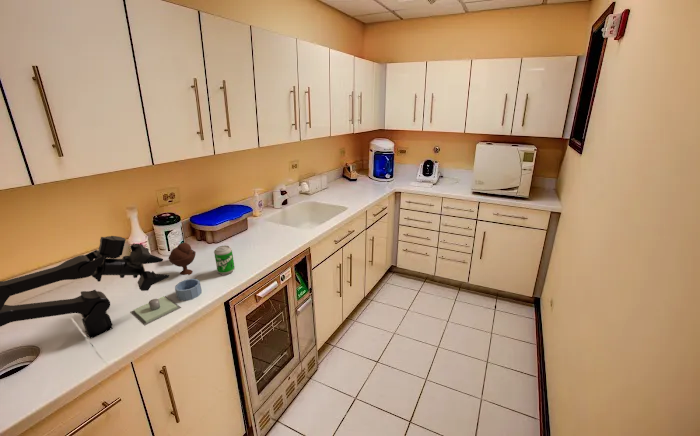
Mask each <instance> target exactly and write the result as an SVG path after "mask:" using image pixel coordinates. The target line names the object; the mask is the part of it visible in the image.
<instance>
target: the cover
mask: <svg viewBox="0 0 700 436" xmlns="http://www.w3.org/2000/svg"><path fill="white" fill-rule="evenodd" d="M176 308H178V307H177V306H176V305H175V304H174V303H172V302H171V301H170V300H168V299H167V298H166V297H165V296H164V295H163V296H162V297H159V298H153V299H151V300H150V299H149V301H148V303H146V304H143V305H142V306H139V307H136V308H134V309H133V310H134V312H135V313H136V314H137V315H138V316H139V317H140V318H141V319H143V320H144V321H145V322H146V323H148V322H150V321H152V320H154V319H156V318H158V317H160V316H162V315H164V314H166V313H168V312H170V311H172V310H174V309H176Z"/></svg>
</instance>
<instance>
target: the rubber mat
mask: <svg viewBox="0 0 700 436" xmlns="http://www.w3.org/2000/svg"><path fill="white" fill-rule="evenodd" d="M164 297H166V298H167V299H168V300H170V301H171V302H172V303H174V304H175V305H176V306H177V307H178V308H176V309H174V310H172V311H170V312H168V313H166V314H164V315H162V316H160V317H158V318H156V319H154V320H152V321H150V322H148V323H146V322H145V321H144V320H143V319H141V318H140V317H139V316H138V315H137V314H136V313H135V312H134V309H132V311H130V312H129V313H130V314H132V315H133V317H134V318H135V319H136V320H138V321H139V323H141V324H142V325H143V326H147V325H149V324H151V323H153V322H156V321H157V320H160V319H161V318H164V317H165V316H167V315H169V314H172V313H174V312H175V311H177V310H180V309H182V307H181V306H180V305H179V304H177V303H176V302H175V301H173V300H172V299H171V298H169V297H168V296H167V295H165V296H164Z"/></svg>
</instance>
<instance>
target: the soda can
mask: <svg viewBox="0 0 700 436" xmlns="http://www.w3.org/2000/svg"><path fill="white" fill-rule="evenodd" d="M213 253H214V258H215V265H216V270H217V271H216V272H217V273H218V274H220V275H223V276H224V275H225V276H226V275H229V274H232V273H233V272H234V271H235V262H234V261H235V260H234V255H233V249H232V247H231V246H229V245H225V244H224V245H219V246H217V247H216V248H215V249H214V251H213Z"/></svg>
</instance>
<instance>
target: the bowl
mask: <svg viewBox="0 0 700 436" xmlns="http://www.w3.org/2000/svg"><path fill="white" fill-rule="evenodd" d="M174 291H175V295H176V299H177V300H179V301H183V302H186V301H192V300H194V299H195V298H196V299H197V298H198V297H199V296H200V295H201V294H202V285H201V281H200V280H199V279H197V278H189V279H187V278H186V279H184V280H181V281H179V282H178V283H176V285H174Z"/></svg>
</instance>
